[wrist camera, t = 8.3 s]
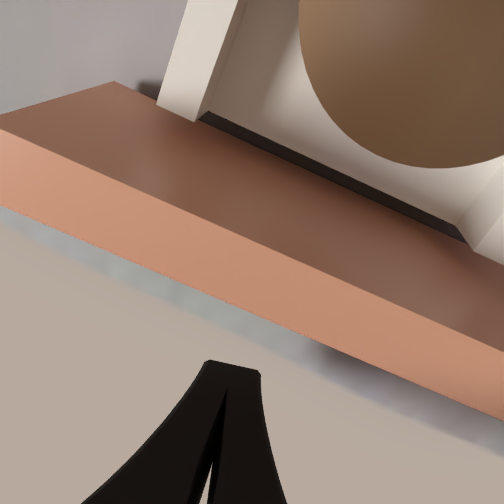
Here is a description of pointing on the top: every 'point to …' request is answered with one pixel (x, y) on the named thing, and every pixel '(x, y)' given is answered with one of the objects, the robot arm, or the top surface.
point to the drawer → (273, 204)
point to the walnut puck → (410, 76)
